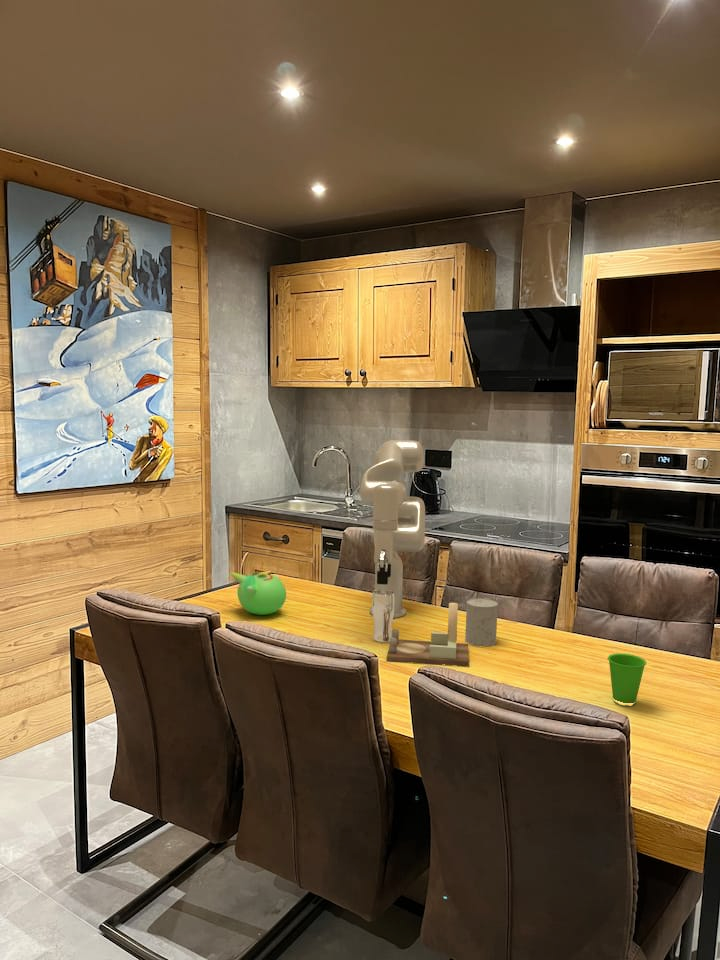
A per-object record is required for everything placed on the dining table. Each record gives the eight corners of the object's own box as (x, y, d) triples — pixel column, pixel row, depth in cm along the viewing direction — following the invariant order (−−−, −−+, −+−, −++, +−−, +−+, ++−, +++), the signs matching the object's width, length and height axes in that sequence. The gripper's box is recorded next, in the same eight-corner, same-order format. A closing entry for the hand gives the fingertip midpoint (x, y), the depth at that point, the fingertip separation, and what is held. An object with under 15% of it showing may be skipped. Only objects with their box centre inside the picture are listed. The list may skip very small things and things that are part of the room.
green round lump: (294, 616, 246) (295, 574, 245) (249, 624, 237) (249, 580, 235) (270, 603, 261) (270, 563, 260) (226, 610, 252) (226, 568, 250)
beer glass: (391, 644, 221) (393, 595, 219) (369, 642, 222) (370, 594, 220) (395, 636, 227) (396, 589, 226) (373, 635, 229) (374, 588, 227)
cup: (599, 695, 185) (601, 653, 184) (633, 694, 186) (636, 653, 185) (614, 710, 176) (617, 666, 175) (650, 709, 177) (653, 666, 176)
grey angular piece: (431, 642, 218) (432, 596, 217) (456, 643, 217) (457, 598, 216) (429, 657, 205) (430, 608, 204) (456, 659, 204) (457, 610, 203)
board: (391, 643, 221) (391, 626, 220) (467, 648, 218) (468, 630, 217) (386, 661, 206) (387, 642, 206) (468, 666, 203) (469, 647, 203)
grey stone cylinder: (499, 639, 227) (501, 601, 226) (491, 648, 219) (493, 608, 217) (470, 634, 231) (471, 596, 230) (461, 643, 223) (462, 604, 221)
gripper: (376, 520, 230) (374, 573, 232) (369, 529, 213) (368, 586, 214) (399, 521, 229) (398, 574, 231) (395, 530, 212) (393, 587, 214)
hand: (383, 580), depth 223 cm, fingers open, 9 cm apart
